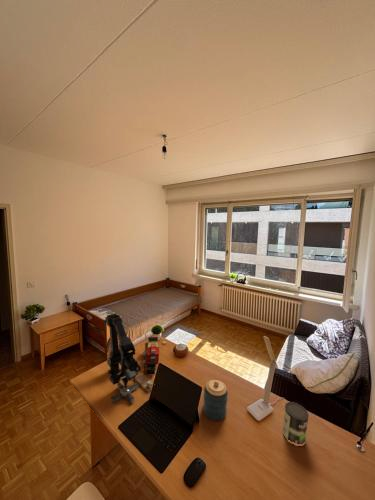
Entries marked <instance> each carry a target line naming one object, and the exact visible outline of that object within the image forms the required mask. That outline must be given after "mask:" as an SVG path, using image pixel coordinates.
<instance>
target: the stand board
mask: <svg viewBox="0 0 375 500" xmlns="http://www.w3.org/2000/svg"><path fill="white" fill-rule="evenodd" d="M133 381H134V382H135V383H138V386H139V387H141V388H142V389H143V390H144V392H146V393H147V394H150V393H151V392H152V391H151V389H152V386H153V384H154V383H153V382H152V381H151V380H150V379H149V378H148V377H147V376H146V375H145V376H144V373H142V372H140V373H138V375H136V377H135V378H134V379H133Z"/></svg>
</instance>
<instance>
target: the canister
mask: <svg viewBox="0 0 375 500" xmlns="http://www.w3.org/2000/svg"><path fill="white" fill-rule="evenodd" d="M203 391H204V392H203V402H202V403H203V404H202V410H203V414H204V415H205V416H206V417H207V418H208V419H209V420H211V421H213V422H214V421H215V422H217V421H222V420H223V419H225V417H226V415H227V410H228V409H227V404H228V396H229V395H228V394H229V392H228V389H227V386H226V384H225V383H224V382H223V381H221V380H218V379H211V380H208V381H207V382H206V383H205V386H204V388H203Z"/></svg>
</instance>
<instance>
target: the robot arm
mask: <svg viewBox="0 0 375 500" xmlns="http://www.w3.org/2000/svg"><path fill="white" fill-rule="evenodd" d="M105 324H106V325H107V327H108V328H109V338H110V349H111V350H110V353H109V354H108V357H109V358H107V360H106V362H107V366H108V367H109V369H108V370H107V372H108V373H109V374H110V375H109V376H108V379H109V380H108V381H110V383H111V384H112V385H117V383H119V382H120V383H121V382H122V383H123V386H128V383H129V382H130V381H132V380H134V378H135V377H136V376H137V375H139V372H141V371H142V367H141V365H140V364H139V363H138V361H137V360H136V359H135V357H134V356H135V355H136V348H135V345H134V343H133V341H132V340H131V338H130V337H128V336H127V333H126V329H125V327H124V325H123V320H122V317H121V315H120V314H118V313H111V314H107V315H106V316H105Z"/></svg>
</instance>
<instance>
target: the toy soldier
mask: <svg viewBox="0 0 375 500" xmlns="http://www.w3.org/2000/svg"><path fill="white" fill-rule="evenodd" d="M147 339H148V340H147V341H145V343H144V345H145V346H144V350H143V351H142V355H143V356H144V357H143V360H142V367H144V369H143V375H144V376H145V377H146V376H149V375H150V376H151V375H152V376H153V375H155V374H156V365H159V360H160V359H159V358H160V346H159V343H158V342H159V341H158V339H159V337H158V336H153V337H152V336H148V338H147Z"/></svg>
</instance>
